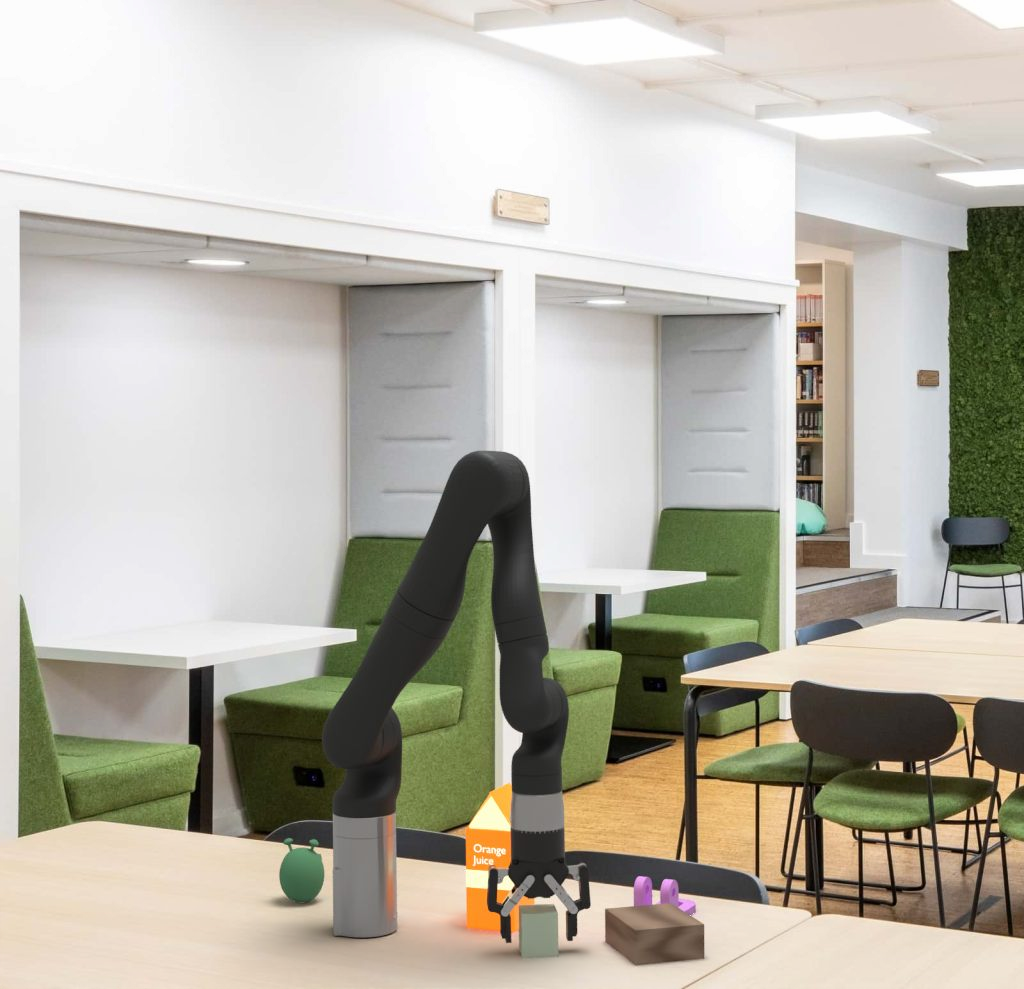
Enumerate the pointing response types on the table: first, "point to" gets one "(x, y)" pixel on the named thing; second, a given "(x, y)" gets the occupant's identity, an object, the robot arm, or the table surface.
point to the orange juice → (489, 860)
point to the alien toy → (301, 872)
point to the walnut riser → (654, 933)
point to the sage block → (538, 930)
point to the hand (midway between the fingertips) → (539, 940)
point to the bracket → (661, 894)
